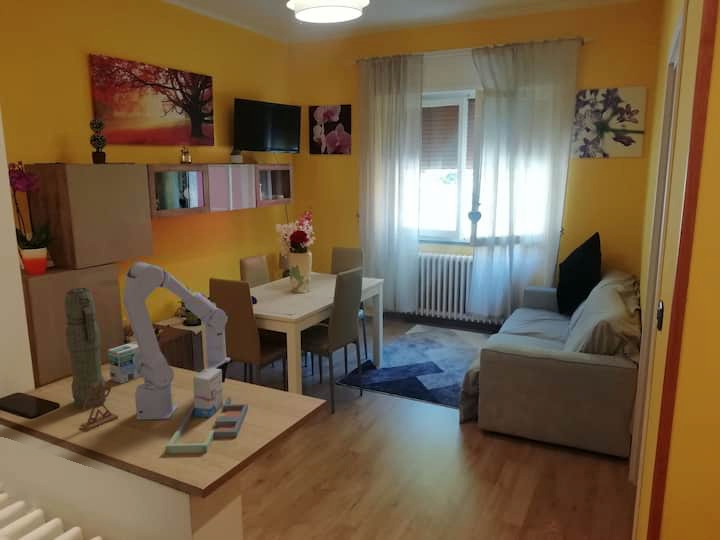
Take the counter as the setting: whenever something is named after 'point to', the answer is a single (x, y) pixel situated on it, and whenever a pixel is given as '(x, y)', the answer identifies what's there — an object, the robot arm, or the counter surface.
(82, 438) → the counter surface
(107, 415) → the wooden stand
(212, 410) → the ink box
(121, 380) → the light bulb box
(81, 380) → the grey stone statue
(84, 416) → the counter surface
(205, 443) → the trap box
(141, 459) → the counter surface
